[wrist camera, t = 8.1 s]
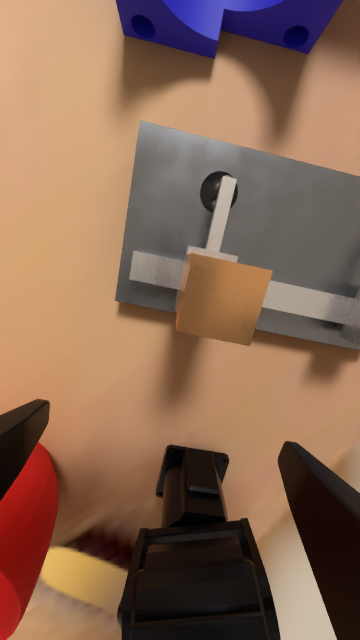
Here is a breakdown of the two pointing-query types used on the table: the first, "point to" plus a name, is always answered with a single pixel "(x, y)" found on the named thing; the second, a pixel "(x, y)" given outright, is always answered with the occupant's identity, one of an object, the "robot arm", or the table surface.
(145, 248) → the plate
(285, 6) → the cable clip
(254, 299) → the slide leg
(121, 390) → the table surface
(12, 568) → the ceramic cup
